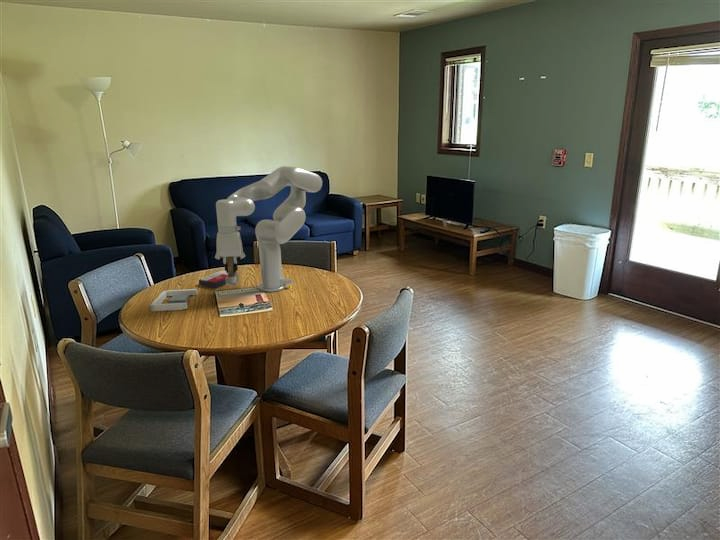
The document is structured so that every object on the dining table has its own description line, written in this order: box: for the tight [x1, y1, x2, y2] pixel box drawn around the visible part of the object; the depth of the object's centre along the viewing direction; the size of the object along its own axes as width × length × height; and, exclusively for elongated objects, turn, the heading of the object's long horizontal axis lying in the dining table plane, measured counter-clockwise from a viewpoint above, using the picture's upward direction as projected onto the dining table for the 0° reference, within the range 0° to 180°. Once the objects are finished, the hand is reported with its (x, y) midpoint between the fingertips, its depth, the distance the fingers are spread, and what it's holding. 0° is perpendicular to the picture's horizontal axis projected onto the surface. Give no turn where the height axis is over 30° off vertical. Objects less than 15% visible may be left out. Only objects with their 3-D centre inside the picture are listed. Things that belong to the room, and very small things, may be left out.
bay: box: [149, 288, 198, 312], centre depth 212 cm, size 14×19×2 cm
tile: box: [167, 295, 191, 304], centre depth 213 cm, size 7×7×2 cm
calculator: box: [198, 269, 228, 290], centre depth 238 cm, size 11×4×15 cm
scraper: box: [225, 257, 239, 286], centre depth 210 cm, size 4×8×12 cm, turn 5°
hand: (231, 271), depth 211 cm, fingers closed on scraper, 2 cm apart
